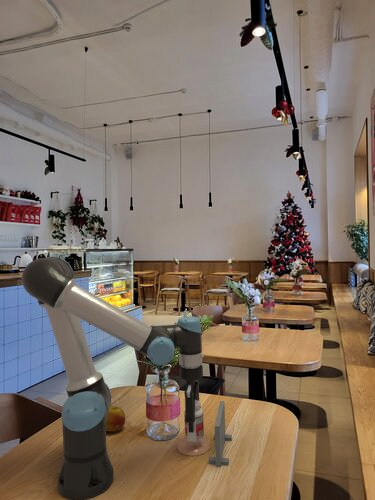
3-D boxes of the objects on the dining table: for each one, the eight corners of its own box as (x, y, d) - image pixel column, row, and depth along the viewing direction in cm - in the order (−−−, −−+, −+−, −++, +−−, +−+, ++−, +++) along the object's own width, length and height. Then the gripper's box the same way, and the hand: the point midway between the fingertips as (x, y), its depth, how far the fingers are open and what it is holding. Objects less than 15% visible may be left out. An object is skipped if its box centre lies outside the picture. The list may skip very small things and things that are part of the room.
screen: (228, 467, 111) (227, 426, 111) (208, 465, 112) (206, 425, 112) (232, 436, 129) (231, 401, 129) (214, 435, 130) (213, 400, 130)
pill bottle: (184, 432, 126) (183, 399, 126) (202, 430, 127) (201, 398, 126) (185, 441, 120) (184, 407, 120) (205, 440, 120) (204, 405, 120)
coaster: (208, 457, 117) (208, 455, 117) (173, 454, 119) (173, 452, 119) (212, 439, 128) (212, 437, 128) (180, 437, 130) (180, 435, 130)
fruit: (130, 425, 140) (129, 403, 140) (119, 437, 131) (118, 414, 131) (106, 422, 142) (105, 401, 142) (94, 434, 133) (93, 411, 133)
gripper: (198, 375, 113) (201, 452, 113) (206, 356, 132) (208, 422, 132) (173, 375, 114) (176, 450, 114) (185, 356, 133) (187, 421, 133)
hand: (193, 435), depth 123 cm, fingers closed on pill bottle, 6 cm apart
